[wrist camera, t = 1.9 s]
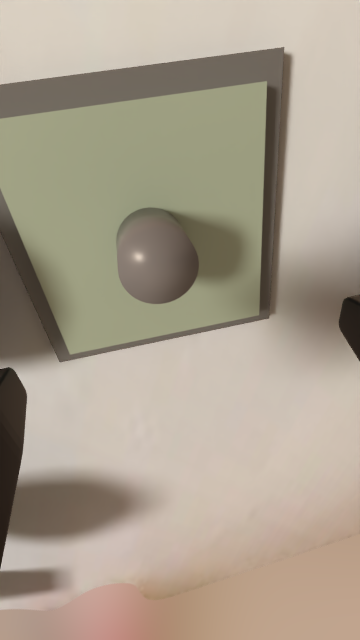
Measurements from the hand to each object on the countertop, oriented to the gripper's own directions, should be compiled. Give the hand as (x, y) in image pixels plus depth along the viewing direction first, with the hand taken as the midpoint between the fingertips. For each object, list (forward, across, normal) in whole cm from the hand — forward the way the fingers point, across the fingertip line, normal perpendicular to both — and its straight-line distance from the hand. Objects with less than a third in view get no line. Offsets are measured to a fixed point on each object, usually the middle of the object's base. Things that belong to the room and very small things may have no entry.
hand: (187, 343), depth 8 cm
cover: (+9, 0, 0) cm, 9 cm away
